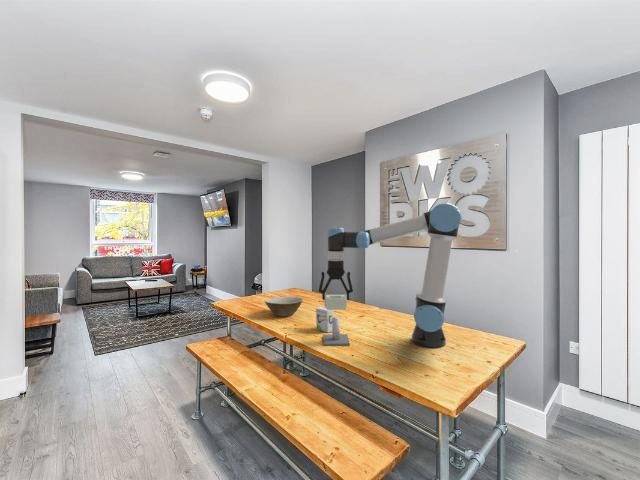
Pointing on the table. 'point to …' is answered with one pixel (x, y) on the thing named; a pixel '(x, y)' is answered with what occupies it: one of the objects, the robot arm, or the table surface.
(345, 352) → the table surface
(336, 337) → the post
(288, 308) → the bowl
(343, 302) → the collar
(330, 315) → the ink box
